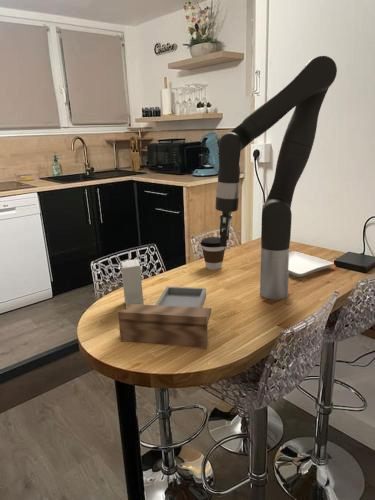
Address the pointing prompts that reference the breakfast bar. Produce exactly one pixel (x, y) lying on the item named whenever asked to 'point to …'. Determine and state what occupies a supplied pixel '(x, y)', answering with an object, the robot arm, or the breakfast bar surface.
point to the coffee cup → (212, 252)
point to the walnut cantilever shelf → (164, 325)
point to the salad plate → (305, 264)
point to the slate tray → (182, 297)
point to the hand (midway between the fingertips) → (224, 242)
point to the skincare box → (132, 282)
